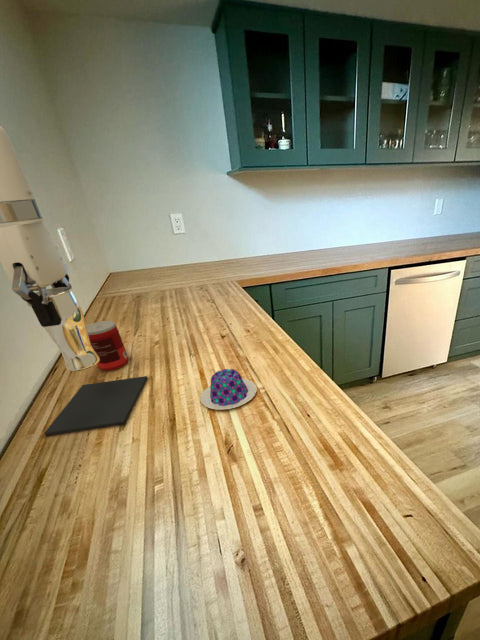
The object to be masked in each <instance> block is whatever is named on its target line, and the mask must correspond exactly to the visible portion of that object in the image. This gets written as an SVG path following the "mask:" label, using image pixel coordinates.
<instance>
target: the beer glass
mask: <svg viewBox="0 0 480 640" xmlns="http://www.w3.org/2000/svg"><path fill="white" fill-rule="evenodd" d="M46 291H47V297H48V303H51V302H52V304H53V306H54V308H55V310H56V312H57V315H58V317H59V319H60V321H61V324H60V325H56V326H48V327H43V330H44V331H45V332H46V333H47V334H48V336H49V337H50V339H51V340H52V341H53V342H54V344H55V345H56V347H57V348H58V349H59V351H60V352H61V355H62V357H63V360H64V364H65V368H66V370H67V371H69V372H81V371H84V370H87V369H90V368H93V367H94V366H97V363H98V362H99V361H100V358H99V356H98V355H97V353H96V352H95V350H94V349H93V347H92V345H91V342H90V339H89V335H88V331H87V326H88V325H87V322H86V319H85V316H84V313H83V310H82V308H81V305H80V303H79V301H78V299H77V298H76V295H75V294H74V292H73V290H72V289H71V288H70V287H58V288H52V287H51V288H48V289H47V288H46ZM35 293H36V294H37V295H39V291H35ZM39 296H40V295H39Z"/></svg>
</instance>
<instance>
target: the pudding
mask: <svg viewBox="0 0 480 640" xmlns="http://www.w3.org/2000/svg"><path fill="white" fill-rule="evenodd" d="M257 389H258V388H257V385H256V383H254V382H253V381H252V380H250V379H247V378H242V376H241V374H240V373H239V372H238V371H237V370H236V369H233V368H230V369H228V368H224V369H222V370H218V371H216V372H214V374H212V375H211V377H210V385H209V386H207V387H206V388H205V389H204V390H203V391H202V393H201V394H200V402H201V404H202V405H203V406H204V407H206V408H208V409H211V410H217V411H218V410H219V411H220V410H223V411H224V410H229V409H234V408H235V409H236V408H238V407H240V406H243V405H244V404H246V403H249V401H251V400H253V398H254V397H255V395H256V393H257V391H258V390H257Z"/></svg>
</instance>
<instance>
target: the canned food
mask: <svg viewBox="0 0 480 640" xmlns="http://www.w3.org/2000/svg"><path fill="white" fill-rule="evenodd" d="M86 326H87V331H88V335H89V339H90V342H91V345H92V347H93V349H94V350H95V352H96V353H97V355H98V356H99V358H100V361H99V362H98V363H97V364H96V366H97V367H98V368H99V369H100V370H101V371H105V372H106V371H107V372H109V371H114V370H119V369H120V368H123V367H125V366H126V365H127V364H128V362H129V355H128V353H127V349H126V347H125V344H124V342H123V339H122V337H121V334H120V331H119V329H118V327H117V324H116V323H115V321H113V320H102V321H98V322H97V321H96V322H93V323H91V324H87V325H86Z"/></svg>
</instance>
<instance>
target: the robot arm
mask: <svg viewBox="0 0 480 640" xmlns="http://www.w3.org/2000/svg"><path fill="white" fill-rule="evenodd" d="M44 218H45V217H44V216H43V213H42V211H41V210H40V207H39V204H38V202H37V200H36V197H35V195H34V192H33V190H32V188H31V186H30V183H29V180H28V179H27V175H26V174H25V171H24V169H23V167H22V164H21V162H20V160H19V157H18V155H17V152H16V150H15V148H14V146H13V144H12V141H11V139H10V137H9V135H8V133H7V131H6V130H5V128H4V127H3V126H1V125H0V264H1V266H2V269H3V271H4V273H5V275H6V277H7V279H8V281H9V283H10V285H11V291H13V293H15V294H16V295H17V296H19V297H20V298H21V299H22V300H23V301H24V302H26V304H27V306H28V307H31V309H32V311H33V313H34V315H35V317H36V318H37V320H38V322H39V324H40V326H41V327H43V328H44V327H48V326H56V325H60V324H61V321H60V319H59V317H58V315H57V312H56V310H55V308H54V306H53V304H52V302H51V303H48V297H47V291H46V290H47V287H49V286H50V287H51V288H58V287H70V288H71V290H72V289H73V286H72V284H71V283H70V276H69V269H68V266H67V264H66V263H64V260H63V257H62V255H61V253H60V251H59V248H58V247H57V244H56V243H55V241H54V238H53V237H52V235H51V233H50V231H49V229H48V227H47V226H46V225H45V223H44V222H45V219H44ZM36 292H39V295H40V296H39V295H37V294H36Z"/></svg>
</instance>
